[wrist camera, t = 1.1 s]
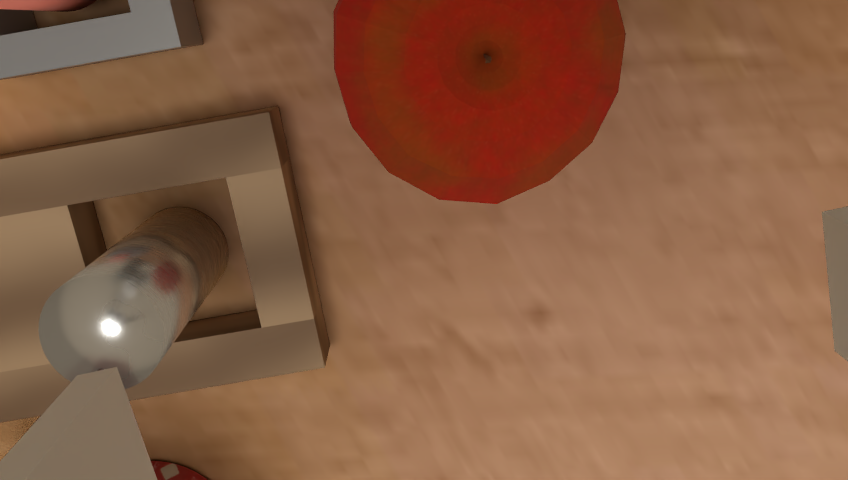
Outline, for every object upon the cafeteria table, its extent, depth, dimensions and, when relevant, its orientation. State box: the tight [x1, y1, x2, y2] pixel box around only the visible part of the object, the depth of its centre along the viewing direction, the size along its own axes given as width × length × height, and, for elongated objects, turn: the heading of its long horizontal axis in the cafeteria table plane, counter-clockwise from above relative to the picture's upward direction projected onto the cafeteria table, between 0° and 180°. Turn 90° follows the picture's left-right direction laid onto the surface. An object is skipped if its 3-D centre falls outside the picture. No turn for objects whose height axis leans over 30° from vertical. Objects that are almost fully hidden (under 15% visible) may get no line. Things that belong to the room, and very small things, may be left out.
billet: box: [39, 207, 228, 389], centre depth 31 cm, size 4×4×10 cm
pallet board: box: [0, 106, 330, 422], centre depth 35 cm, size 11×24×2 cm, turn 100°
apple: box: [334, 0, 625, 204], centre depth 28 cm, size 10×10×12 cm
